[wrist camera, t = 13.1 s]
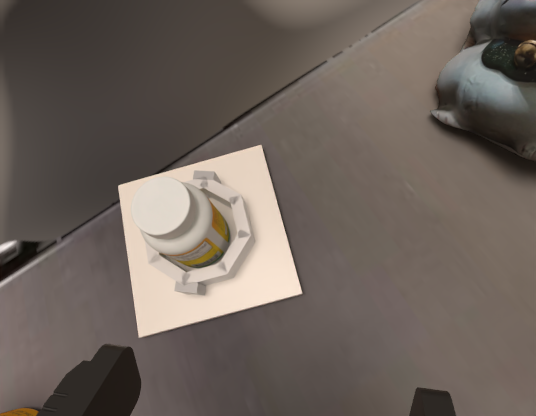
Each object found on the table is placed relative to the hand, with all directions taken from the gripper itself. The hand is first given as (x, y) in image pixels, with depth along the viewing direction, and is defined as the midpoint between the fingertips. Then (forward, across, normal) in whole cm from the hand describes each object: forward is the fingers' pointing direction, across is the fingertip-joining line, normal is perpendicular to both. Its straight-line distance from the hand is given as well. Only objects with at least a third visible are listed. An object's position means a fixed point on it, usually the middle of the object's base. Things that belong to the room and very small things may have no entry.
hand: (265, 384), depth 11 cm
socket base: (+21, +10, +10) cm, 25 cm away
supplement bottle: (+20, +10, +9) cm, 24 cm away
